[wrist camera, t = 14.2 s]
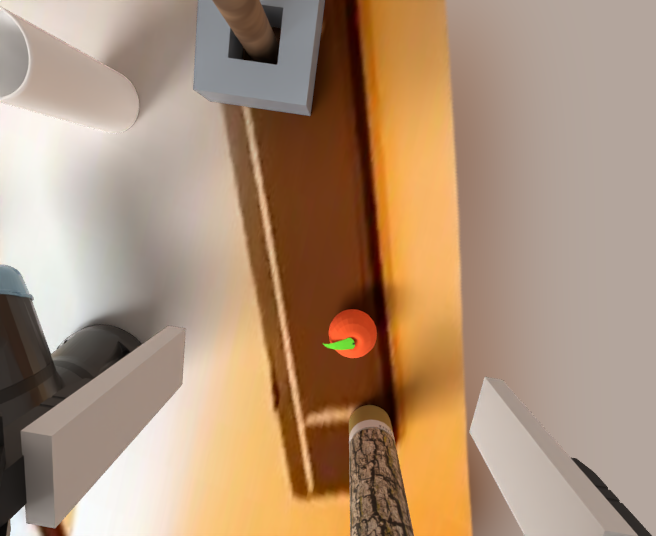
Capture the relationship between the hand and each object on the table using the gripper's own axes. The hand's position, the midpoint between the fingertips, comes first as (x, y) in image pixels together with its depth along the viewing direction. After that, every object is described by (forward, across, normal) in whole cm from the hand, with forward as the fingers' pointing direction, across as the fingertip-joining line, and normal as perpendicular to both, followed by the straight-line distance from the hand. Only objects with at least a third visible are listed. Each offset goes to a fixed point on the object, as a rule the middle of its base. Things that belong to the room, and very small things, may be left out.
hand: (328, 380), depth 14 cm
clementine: (+35, +3, -11) cm, 37 cm away
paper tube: (+35, +9, -27) cm, 45 cm away
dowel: (+35, -14, +25) cm, 45 cm away
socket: (+35, -14, +25) cm, 45 cm away
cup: (+35, -35, +16) cm, 52 cm away
